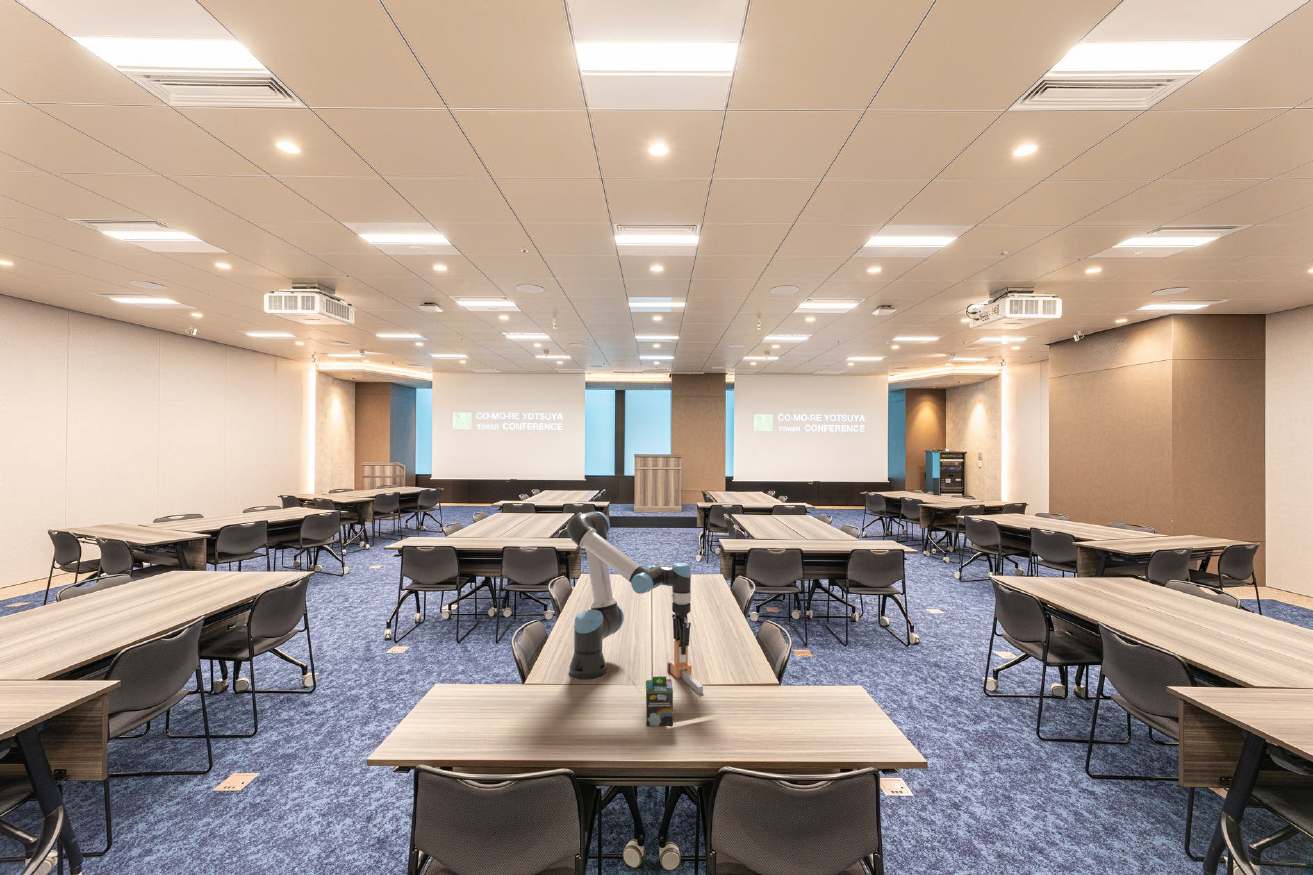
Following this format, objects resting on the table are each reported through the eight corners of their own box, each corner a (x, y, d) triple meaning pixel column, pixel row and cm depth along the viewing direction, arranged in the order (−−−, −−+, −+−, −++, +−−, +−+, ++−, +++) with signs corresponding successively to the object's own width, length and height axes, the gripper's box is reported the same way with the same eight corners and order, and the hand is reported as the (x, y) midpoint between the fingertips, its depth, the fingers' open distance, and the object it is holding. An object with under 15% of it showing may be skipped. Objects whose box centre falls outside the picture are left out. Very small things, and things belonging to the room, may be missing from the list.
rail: (661, 673, 203) (661, 661, 204) (687, 668, 208) (688, 657, 208) (687, 700, 180) (687, 688, 180) (716, 695, 185) (716, 683, 185)
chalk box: (671, 712, 172) (672, 669, 173) (673, 726, 163) (674, 681, 163) (645, 712, 172) (645, 669, 172) (645, 726, 162) (646, 681, 163)
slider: (670, 672, 202) (670, 639, 202) (685, 669, 204) (685, 637, 205) (676, 678, 196) (676, 644, 197) (691, 675, 199) (691, 642, 199)
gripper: (665, 597, 207) (665, 654, 206) (680, 608, 193) (680, 669, 192) (681, 596, 210) (681, 652, 209) (698, 606, 196) (697, 666, 195)
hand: (680, 660), depth 200 cm, fingers closed on slider, 2 cm apart
